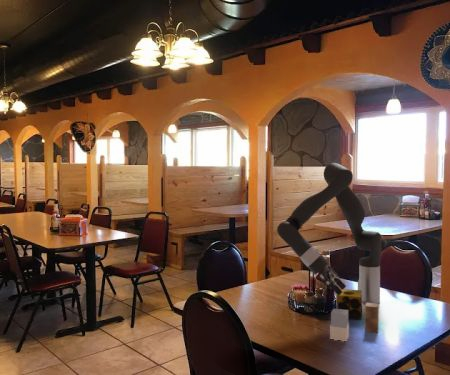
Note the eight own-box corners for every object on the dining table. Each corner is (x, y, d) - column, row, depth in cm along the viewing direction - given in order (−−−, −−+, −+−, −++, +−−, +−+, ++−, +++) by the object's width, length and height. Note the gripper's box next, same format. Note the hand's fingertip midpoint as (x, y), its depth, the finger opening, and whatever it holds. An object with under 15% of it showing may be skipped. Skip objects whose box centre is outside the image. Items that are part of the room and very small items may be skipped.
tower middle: (331, 326, 160) (331, 312, 160) (333, 321, 165) (333, 308, 165) (346, 328, 158) (346, 314, 158) (348, 323, 163) (348, 310, 163)
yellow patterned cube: (362, 312, 189) (362, 290, 188) (361, 320, 179) (361, 296, 179) (338, 310, 192) (338, 288, 192) (336, 318, 183) (336, 294, 182)
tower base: (330, 339, 160) (330, 326, 160) (332, 333, 166) (332, 320, 166) (346, 342, 158) (346, 328, 158) (349, 336, 163) (349, 323, 163)
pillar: (365, 331, 168) (365, 305, 167) (366, 327, 172) (366, 302, 171) (377, 333, 166) (377, 307, 165) (378, 328, 170) (378, 303, 169)
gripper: (316, 257, 169) (346, 289, 165) (323, 251, 182) (352, 280, 178) (303, 270, 172) (332, 301, 167) (311, 262, 185) (338, 292, 180)
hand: (342, 290), depth 173 cm, fingers open, 8 cm apart
